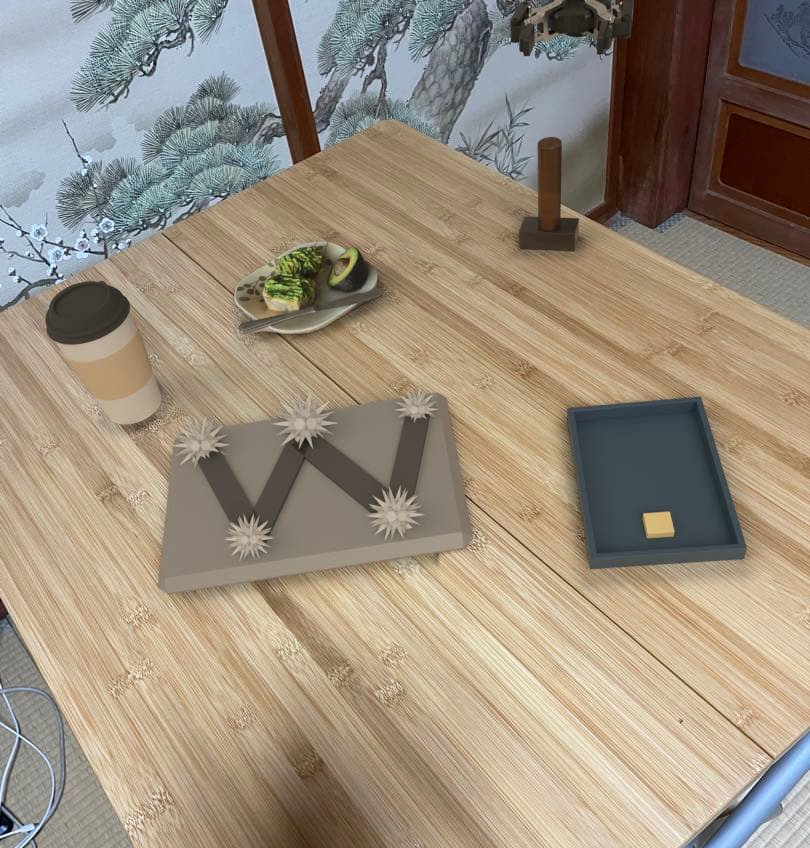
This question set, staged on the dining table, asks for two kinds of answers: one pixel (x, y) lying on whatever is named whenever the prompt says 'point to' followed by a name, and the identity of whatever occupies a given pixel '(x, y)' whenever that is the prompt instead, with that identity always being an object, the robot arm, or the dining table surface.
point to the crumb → (658, 525)
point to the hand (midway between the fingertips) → (562, 46)
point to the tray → (652, 484)
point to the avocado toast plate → (306, 289)
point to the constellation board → (312, 493)
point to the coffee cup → (105, 349)
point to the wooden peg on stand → (549, 205)
